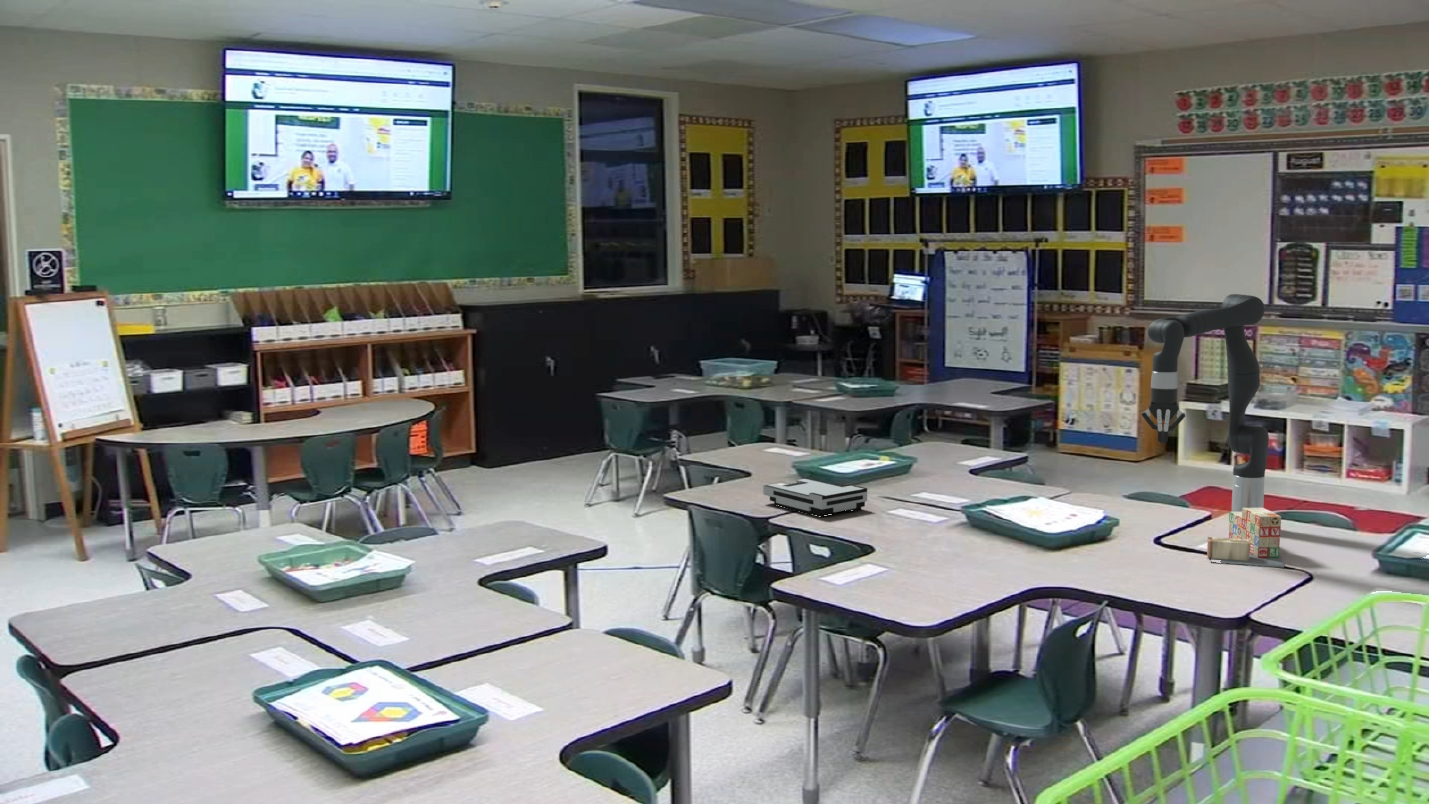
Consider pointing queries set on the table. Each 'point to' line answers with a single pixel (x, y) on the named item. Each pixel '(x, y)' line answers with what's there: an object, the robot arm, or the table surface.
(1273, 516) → the stack of blocks
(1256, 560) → the mat
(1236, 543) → the maple block
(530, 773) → the table surface
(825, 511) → the gray game console
